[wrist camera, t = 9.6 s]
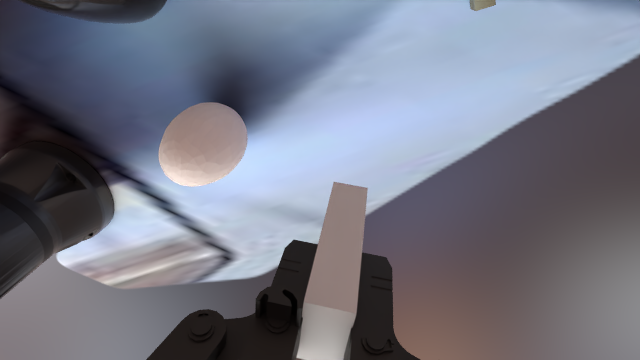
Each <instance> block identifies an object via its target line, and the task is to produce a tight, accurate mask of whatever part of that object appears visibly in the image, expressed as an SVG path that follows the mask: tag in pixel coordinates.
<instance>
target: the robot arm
mask: <svg viewBox="0 0 640 360" xmlns="http://www.w3.org/2000/svg"><path fill="white" fill-rule="evenodd" d="M367 189H368V188H364V187H359V186H353V185H348V184H343V183H337V182H334V184H333V188H332V192H331V195H330V199H329V203H328V207H327V211H326V215H325V219H324V223H323V227H322V231H321V235H320V239H319V243H318V244H313V243H308V242H303V241H298V240H293V241H292V242H291V243H290V244H289V245H288V246H287V247H286V248H285V250H284V253H283V255H282V258H281V261H280V263H279V266H278V269H277V271H276V274H275V277H274V280H273V283H272V285H271V287H267V288H266V289H264V290H263V291H261V292H260V293H259V295H258V296H257V298H256V312H255V313H254V314H252V315H250V316H247V317H243V318H235V319H224V318H223V316H222V315H220V314H219V313H218V312H217V311H213V310H209V309H208V310H198V311H196V312H194V313H191V314H189V315H188V316H187V317H186V318H184V319H183V320H182V321H181V322H180V323H179V324H178V325H177V327H176V328H175V329H174V330H173V331H172V332H171V333H170V334H169V335H168V336H167V338H166V339H165V340H164V341H163V342H162V343H161V344H160V345H159V346H158V347H157V349H156V350H155V351H154V352H153V353H152V354H151V355H150V356H149V357H148V358H147V360H296V358H300V359H305V360H420V359H418V358H416V357H415V356H413V355H411V354H410V353H408V352H407V351H406V350H405V349H404V348H403V347H402V346H401V345H400V344H399V342H398V341H397V339H396V337H395V334H394V329H393V293H392V267H391V265H390V264H389V262H388V260H387V258H386V257H382V256H377V255H372V254H367V253H362V245H363V233H364V222H365V211H366V200H367ZM113 213H114V205H113V200H112V196H111V194H110V191H109V189H108V187H107V186H106V184H105V182H104V181H103V179H102V178H101V177H100V176H99V174H98V173H97V172H96V171H95V170H94V169H93V168H92V167H91V166H90V165H89V164H88V163H87V162H86V161H84V160H83V159H82V158H80V157H79V156H77V155H76V154H74V153H73V152H71V151H69V150H67V149H65V148H63V147H61V146H58V145H55V144H52V143H48V142H37V141H36V142H29V143H26V144H24V145H21V146H19V147H17V148H15V149H13V150H11V151H9V152H8V153H6V154H5V155H4V156H3V157H2V158H1V160H0V299H1V298H2V297H3V296H5V295H6V294H7V293H8V292H9V291H10V290H11V289H13V288H14V287H15V286H16V285H17V284H18V283H20V282H21V281H22V280H23V279H24V278H26V277H27V276H28V275H29V274H30V273H32V272H33V271H34V270H35V269H36V268H37V267H39V266H40V265H41V264H42V263H43V262H44V261H46V260H47V259H48V258H49V257H51V256H52V255H53V254H55V253H57V252H60V251H62V250H64V249H67V248H69V247H71V246H73V245H76V244H78V243H80V242H81V241H84V240H87V239H89V238H91V237H93V236H95V235H96V234H98V233H99V232H100V231H101V230H102V229H103V228H105V227H106V226H107V225H108V224H109V223H110V221H111V219H112V217H113Z"/></svg>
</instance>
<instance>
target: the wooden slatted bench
mask: <svg viewBox="0 0 640 360" xmlns="http://www.w3.org/2000/svg"><path fill="white" fill-rule="evenodd" d="M494 5H496V2H495V0H470V7H471V9H472V10H474V11H478V10H481V9H484V8H487V7H491V6H494Z"/></svg>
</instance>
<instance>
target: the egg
mask: <svg viewBox="0 0 640 360" xmlns="http://www.w3.org/2000/svg"><path fill="white" fill-rule="evenodd" d="M247 139H248V137H247V129H246V126H245V124H244V122H243V120H242V118H241V117H240V115H239V114H238V113H237V112H236V111H235V110H233V109H232V108H230V107H228V106H226V105H223V104H220V103H213V102H208V103H199V104H197V105H194V106H191V107H189V108H187V109H186V110H184V111H183V112H181V113H180V114H179V115H178V116H176V117H175V118H174V119H173V120H172V122H171V123H170V124H169V125H168V127H167V128H166V130H165V133H164V135H163V138H162V140H161V143H160V147H159V162H160V165H161V167H162V169H163V171H164V173H165V175H166V176H167V177H169V178H170V179H171V180H172V181H174V182H175V183H177V184H180V185H184V186H191V187H193V186H202V185H206V184H209V183H212V182H215V181H217V180H220V179H222V178H223V177H225V176H226V175H227V174H229V173H230V172H231V171H232V170H233V169H234V168H235V167H236V166H237V164H238V163H239V162H240V161H241V159H242V157H243V155H244V152H245V150H246V147H247Z"/></svg>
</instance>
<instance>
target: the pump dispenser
mask: <svg viewBox="0 0 640 360" xmlns="http://www.w3.org/2000/svg"><path fill="white" fill-rule="evenodd" d="M18 1H20V2H23V3H25V4H27V5H30V6H32V7H35V8H38V9H40V10H43V11H47V12H50V13H53V14H57V15H61V16H65V17H70V18H74V19H79V20H85V21H91V22H99V23H113V24H130V23H137V22H142V21H145V20H148V19H150V18H152V17H153V16H155V15H156V14H157V13H158V12H159V11H160V10H161V9H162V8H163V6H164V5H165V3H166V1H167V0H18Z"/></svg>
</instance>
